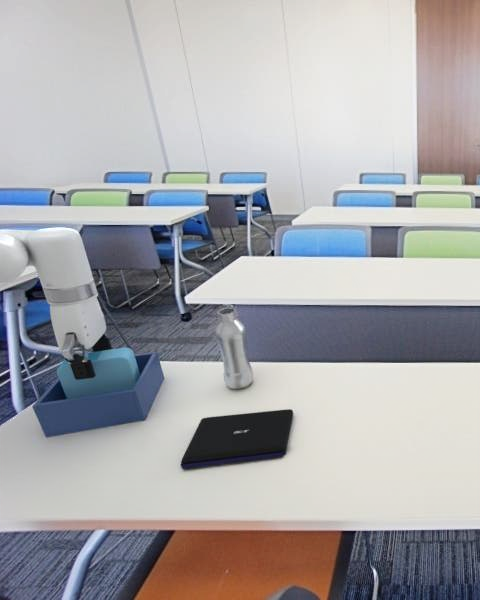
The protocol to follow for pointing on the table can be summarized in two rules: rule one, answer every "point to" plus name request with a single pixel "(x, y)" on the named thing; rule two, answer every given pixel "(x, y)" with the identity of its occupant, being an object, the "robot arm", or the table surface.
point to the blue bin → (100, 403)
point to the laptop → (239, 438)
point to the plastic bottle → (233, 349)
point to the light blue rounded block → (102, 374)
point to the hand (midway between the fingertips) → (95, 365)
